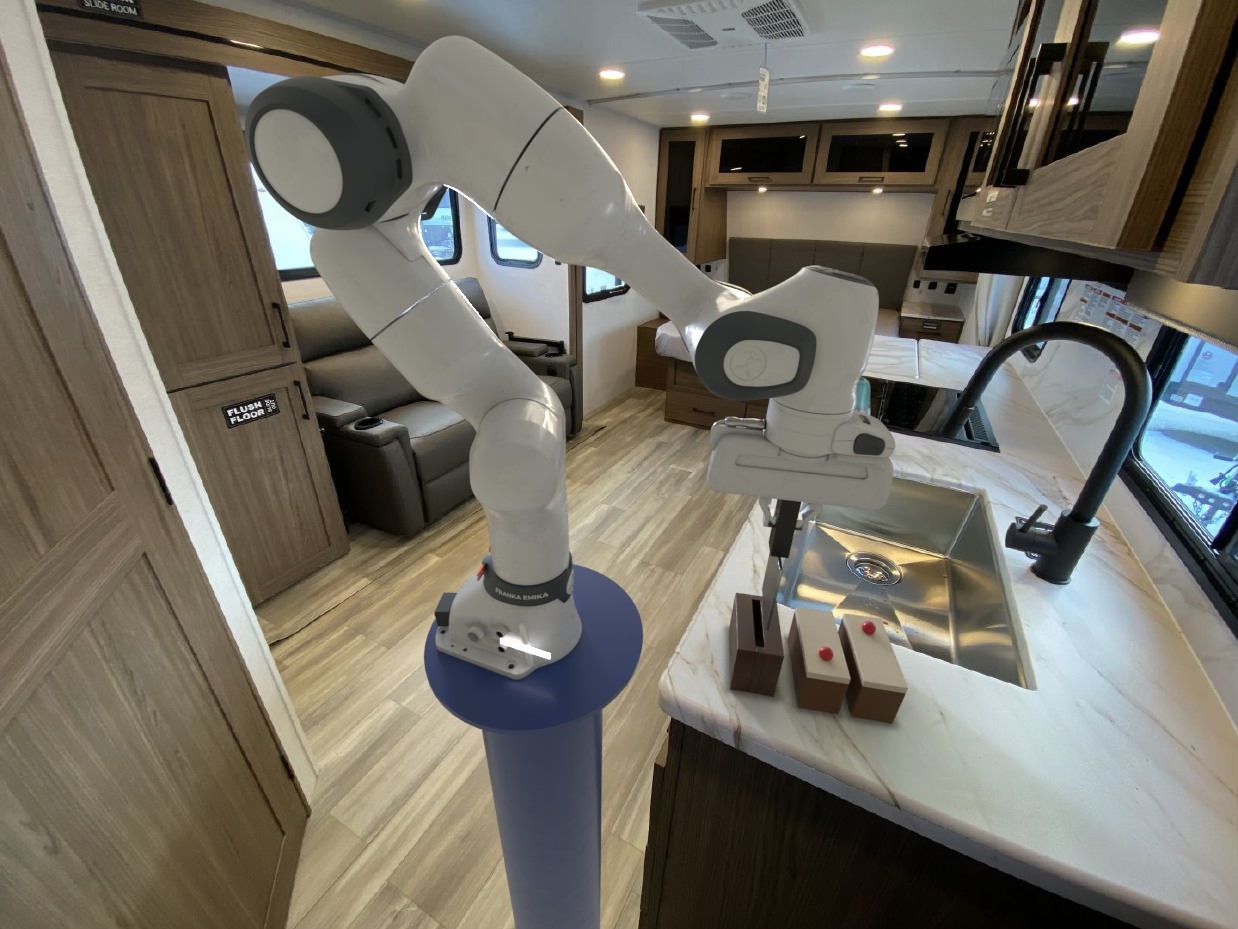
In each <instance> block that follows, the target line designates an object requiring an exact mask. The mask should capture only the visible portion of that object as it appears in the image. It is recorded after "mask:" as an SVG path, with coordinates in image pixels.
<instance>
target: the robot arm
mask: <svg viewBox="0 0 1238 929" xmlns="http://www.w3.org/2000/svg"><path fill="white" fill-rule="evenodd" d="M574 116H575V115H573V114H572V113H571V112H569V111H568V109H566V108H565V107H564V106H563V105H562V104H561V103H559V101H557V100H556V99H555V97H553V96H552V95H551V94H550V93H549V92H547V91H546V90H545V89H544V88H542V87H541V86H540V85H539V84H537V83H536V82H535V81H534V80H533V79H531V78H530V77H529V76H527V75H526V74H524V73H523V72H522V71H520V70H519V69H518V68H516V67H515V66H514V65H513V64H511V63H509V62H508V61H506V60H505V59H503V58H502V57H501V56H499V55H498V54H497V53H494V52H493V51H491V50H490V49H489V48H486V47H485V46H483V45H481V44H480V43H478V42H477V41H475V40H473V39H471V38H469V37H466V36H462V35H448V36H443V37H441V38H439V39H437V40H434V41H433V42H432V43H431V44H430V45H428V46H427V47H426V48H425V49H424V50H423V51H422V52H421V53H420V55H419V56H418V57H417V59H416V60H415V62H414V64H413V65H412V68H411V70H410V72H409V75H408V77H407V78H406V79H404V78H400V77H385V76H384V77H383V76H380V75H375V74H370V73H369V74H368V73H358V72H344V73H340V74H335V75H326V76H315V75H299V76H293V77H290V78H286V79H283V80H280V81H278V82H275V83H273V84H271V85H269V86H268V87H266V88H265V89H263V90H262V91H261V92H259V93H258V94H257V95H256V96H255V97H254V98H253V100H251V102H250V104H249V106H248V109H247V112H246V115H245V121H244V138H245V139H244V140H245V145H246V149H247V153H248V158H249V160H250V163H251V166H252V167H253V169H254V172H255V173H256V174H255V175H257V177H258V179H259V181H260V182H261V184H262V186H263V187H264V188H265V190H266V191H267V193H268V194H269V195H270V196H271V198H272V199H273V200H275V202H276V203H277V204H278V205H279V206H280V207H281V208H282V209H283V210H285V212H287V213H288V214H290V215H291V216H293V217H294V218H296V219H297V220H299V221H301V222H303V223H304V224H307V225H309V226H311V227H315V229H314V230H313V233H312V235H311V238H310V242H309V254H310V255H309V256H310V259H311V262H312V264H313V266H314V269H316V271H317V273H318V274H319V276H320V277H321V279H322V280H323V282H324V284H325V286H327V288H328V289H329V291H330V292H331V294H332V295H333V296H334V298H335V300H336V301H337V302H338V303H339V305H340V306H341V307H342V308H343V311H344V312H346V314H347V315H348V316H349V317H350V319H351V320H352V321H353V322H354V324H355V325H356V326H357V327H358V328H359V330H361V332H362V333H363V334H364V335H365V337H367V338H368V340H371V343H372V344H373V345H374V346H375V347H376V348H377V349H378V350H379V352H381V354H382V355H383V356H384V357H385V359H387V360H388V361H389V362H390V363H391V364H392V366H394V368H395V369H396V370H397V372H399V373H400V375H401V376H402V377H404V379H406V381H407V382H408V383H409V384H410V385H411V386H412V387H413V388H414V389H415V390H416V391H417V393H418V394H420V395H421V396H422V397H425V398H426V399H428V400H431V401H437V402H439V403H441V404H443V405H444V406H446V407H447V408H449V409H451V410H452V411H453V412H455V413H456V414H458V415H459V416H461V417H462V418H463V419H464V420H466V421H467V422H468V423H469V424H470V425H471V426H472V428H473V429H474V431H475V435H474V438H473V441H472V444H471V446H470V449H469V458H468V473H469V484H470V488H471V490H472V493H473V495H474V497H475V498H476V500H477V501H478V502H479V503H480V505H481V508H482V511H483V513H484V517H485V520H486V524H487V531H488V538H489V547H488V552H489V553H488V554H486V555H485V556H484V557H483V559H482V561H481V566H480V567H479V569H478V570H477V572H475V573H473V574H472V575H470V577H469V578H468V579H467V580H466V581H465V582H464V583H463V585H462V586H461V587H460V588H459V589H458V591H457V592H449V591H446V592H445V591H443V593H442V595H441V597H440V599H439V601H438V604H437V605H436V607H435V609H434V614H433V615H434V617H435V618H436V622H437V626H438V629H437V632H436V648H437V650H439V651H441V652H444V653H446V654H449V655H451V656H454V657H457V658H459V659H462V660H464V661H467V662H470V663H472V664H475V665H477V666H480V667H483V668H485V669H488V670H491V671H493V672H496V673H498V674H501V675H504V676H506V677H509V678H512V679H515V680H519V679H522V678H524V677H526V676H527V675H529V674H530V673H531V672H533V671H534V670H535V669H537V668H539V667H542V666H545V665H548V664H551V663H554V662H556V661H558V660H560V659H561V658H563V657H564V656H566V655H567V654H568V653H570V652H571V651H572V650H573V648H574V647H575V646H576V644H577V643H578V641H579V639H580V636H581V632H582V623H581V619H580V617H579V615H578V612H577V610H576V607H575V603H574V598H573V593H572V591H573V586H574V569H573V564H574V563H573V555H572V552H571V551H570V531H569V530H570V528H569V509H568V508H569V507H568V488H567V487H568V486H567V485H568V484H567V436H566V435H567V434H566V431H567V430H566V429H567V428H566V421H567V420H566V419H567V418H566V413H565V412H566V411H565V409H564V406H563V404H562V402H561V400H560V398H559V396H558V395H557V394H556V392H555V391H554V389H553V388H552V387H551V386H550V385H548V384H547V383H546V382H544V381H542V380H541V379H540V378H539V377H538V376H537V374H535V372H533V371H532V370H531V369H530V368H529V366H528V365H527V364H525V362H523V361H522V360H521V359H520V358H519V357H518V356H517V355H516V354H515V353H514V352H512V350H510V349H509V347H507V346H506V345H505V343H504V342H503V341H501V339H499V337H498V336H497V335H496V334H495V333H494V331H493V330H492V329H491V327H490V326H489V325H488V324H487V323H486V322H485V320H484V319H483V318H482V316H481V315H480V314H479V312H478V311H477V310H476V309H475V308H474V307H473V305H472V304H471V303H470V301H469V300H468V299H467V297H466V296H465V295H464V294H463V292H462V291H461V289H459V287H458V286H457V285H456V283H455V282H454V281H453V280H452V279H451V277H450V276H449V275H448V273H447V272H446V271H445V269H444V268H443V267H442V266H441V265H440V264H439V262H438V261H437V260H436V258H435V257H434V256H433V255H432V254H431V252H430V251H429V249H428V247H427V246H426V244H425V242H424V239H423V237H422V234H421V229H420V228H421V227H420V224H421V222H424V221H429V220H431V219H433V218H434V216H435V215H436V213H437V210H438V208H439V206H440V204H441V202H442V200H443V198H444V196H445V195H446V193H447V191H448V190H449V188H450V189H452V190H453V191H456V192H457V193H459V194H461V195H462V196H464V197H465V198H467V199H468V200H469V201H471V202H472V203H473V204H474V205H475V206H476V207H478V208H479V210H481V211H483V213H485V214H486V215H487V216H488V217H490V218H491V219H492V220H493V221H495V223H497V224H498V225H499V226H501V227H502V229H504V230H506V231H507V232H508V233H510V234H511V235H512V236H514V238H516V239H517V240H519V241H521V242H522V243H524V244H525V245H527V246H529V247H530V248H532V249H534V250H535V251H537V252H538V253H541V255H544V256H546V257H548V258H549V259H551V260H553V261H555V262H558V263H559V264H565V265H572V266H580V267H586V268H592V269H595V270H600V271H603V272H604V273H607V274H608V275H609V274H610V275H612V276H613V277H616V278H617V279H618V280H621V281H622V282H623V283H625V284H626V285H627V286H629V287H630V288H631V289H632V290H633V291H635V293H636V294H638V295H640V297H642V298H643V299H644V300H646V302H648V303H649V304H650V305H652V306H653V307H654V308H656V309H657V310H658V311H659V312H660V313H661V314H663V315H664V316H665V317H666V318H668V319H669V321H670V322H672V324H673V325H674V327H675V328H676V330H677V331H678V333H679V335H680V338H681V340H682V342H683V345H684V347H685V349H686V351H687V352H688V354H689V357H690V358H691V362H692V365H693V367H694V370H695V372H696V374H697V377H698V379H699V381H700V382H701V384H702V385H703V386H704V387H705V388H706V390H707V391H709V393H711V394H713V395H714V396H716V397H718V398H720V399H723V400H727V401H733V402H747V401H758V400H768V399H769V400H768V405H767V411H766V417H765V419H761V418H741V417H737V416H725V418H724V419H720V420H717V421H715V422H714V423H713V425H712V426H711V428H710V430H709V439H708V444H709V446H710V448H711V450H712V451H711V455H710V459H709V463H708V469H707V476H706V483H707V486H708V487H709V488H710V490H711V491H712V492H714V493H723V494H731V495H739V496H740V495H741V496H747V497H757V498H758V505H759V507H760V509H761V511H762V512H763V515H762V527H766V528H775V527H776V522H777V512H776V510H775V509H774V508H770V505H772V501H773V499H774V500H777V499H781V500H790V501H798V502H801V503H807V505H806V507H804V508H803V509H802V510H801V512H800V511H799V515H798V520H797V524H796V528H795V531H796V532H797V531H798V532H804V533H806V532H807V529H808V524H809V522H811V520H813V519H814V518H815V517H816V516H817V515H819V514H820V513H821V512H822V510H823V506H833V507H842V508H851V509H857V510H868V511H878V510H879V509H881V508H883V507H884V506H885V505H886V504H887V502H888V500H889V497H890V495H891V494H890V493H891V489H892V485H893V480H894V472H895V471H894V470H895V468H894V464H893V462H892V459H891V458H890V457H891V456H892V455H894V452H895V450H896V445H897V442H896V441H895V440H896V439H895V438H894V436H893V434H892V432H891V431H890V430H889V429H888V428H887V426H886V425H885V424H884V423H883V422H882V421H881V420H880V419H878V418H876V417H875V416H873V415H871V414H870V415H867V414H865V413H862V412H860V411H857V410H855V408H856V405H857V385H858V382H859V379H860V377H863V376H862V375H863V374H864V372H866V369H867V366H868V364H869V359H870V355H871V351H872V347H873V343H874V339H875V335H876V329H877V323H878V317H879V307H880V305H879V304H880V296H879V290H878V289H877V287H876V285H875V284H874V282H872V281H871V280H870V279H868V278H866V277H864V276H860V275H857V274H855V273H850V272H847V271H843V270H841V269H840V270H839V269H835V268H831V267H827V266H821V265H809V266H804V267H802V268H801V269H799V271H798V272H797V273H796V274H794V275H793V276H791V277H789V278H787V279H785V280H784V281H782V282H780V283H778V284H776V285H774V286H773V287H770V288H767V289H766V290H763V291H759V292H758V293H755V294H753V293H751V292H750V291H749V290H748V289H746V288H743V287H741V286H738V285H735V284H733V283H728V282H726V281H725V282H724V281H721V280H717V279H715V278H711V277H710V276H709V275H707V274H706V273H704V272H703V271H702V270H700V269H699V268H698V267H697V266H696V265H695V264H693V263H692V262H691V261H690V260H689V259H688V258H687V257H685V255H683V253H681V252H680V251H679V250H678V249H677V248H676V247H675V246H673V245H672V244H671V243H670V242H669V241H668V240H667V239H666V238H665V237H664V236H662V234H660V233H659V231H657V229H655V227H654V226H653V225H652V224H651V223H650V220H648V219H647V217H646V215H645V214H644V213H643V211H642V210H641V208H640V206H639V205H638V203H637V201H636V199H635V197H634V195H633V193H632V191H631V189H630V187H629V185H628V183H627V182H626V179H625V178H624V176H623V175H622V172H620V170H619V169H618V167H617V166H616V165H615V163H614V161H613V160H612V158H610V156H609V155H608V154H607V152H606V151H605V150H604V149H603V147H602V146H601V144H600V143H599V142H598V141H597V140H596V139H595V137H594V136H593V135H592V134H591V133H590V131H588V130H587V128H586V127H585V126H584V125H583V124H582V123H581V122H580V121H579V120H578V119H577V118H576V117H574ZM442 633H444V634H442ZM511 667H513V668H512V669H509V668H511Z"/></svg>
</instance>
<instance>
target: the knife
mask: <svg viewBox="0 0 1238 929" xmlns="http://www.w3.org/2000/svg"><path fill="white" fill-rule="evenodd" d="M801 506H802V502H798V501H790V500H781V499H776V504H775V510H776V512H777V522H776V527H775V528H772V527H770V533H769V537H768V547H769V548H768V549H769V553H768V557H767V561H766V562H767V563H766V568H765V572H764V577H763V582H762V586H761V592H762V596H763V604H764V614H765V623H766V630H769V629H770V625H771V620H772V616H773V612H774V607H775V603H776V600H777V598H778V595H779V589H780V586H781V585H780V584H781V581H782V577H783V572H784V568H783V562H782V558H783V559H789V557H790V554H791V549H792V545H793V540H794V537H795V532H796V530H795V528H796V524H797V520H798V515H799V512H800V510H801Z"/></svg>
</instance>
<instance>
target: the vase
mask: <svg viewBox="0 0 1238 929" xmlns="http://www.w3.org/2000/svg"><path fill="white" fill-rule="evenodd" d="M855 410H857V411H860V412H862V413H865V414H867V415H870V416H871V413H872V412H871V411H872V409H871V383H870V381H869V380H868V378H867V379H866V378H865V377H863V376H861V377H860V379H859V382H858V385H857V405H856V408H855Z"/></svg>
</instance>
